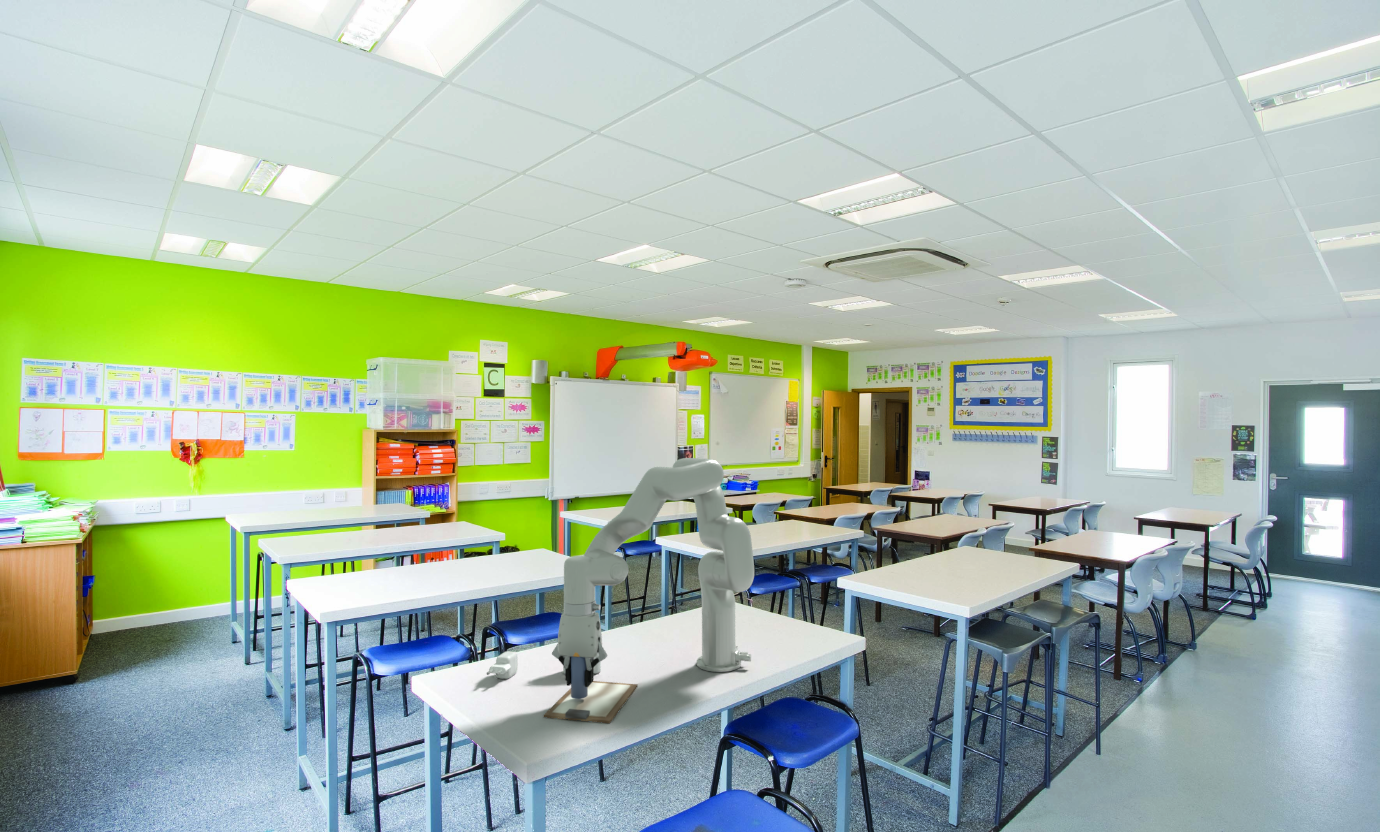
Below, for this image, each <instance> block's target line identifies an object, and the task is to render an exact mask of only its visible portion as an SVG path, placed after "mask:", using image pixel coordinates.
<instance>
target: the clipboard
mask: <svg viewBox="0 0 1380 832" xmlns="http://www.w3.org/2000/svg"><path fill="white" fill-rule="evenodd" d="M637 688H638V683H625V682H624V683H623V682H614V681H613V682H611V681H600V680H599V681H597V680H593V682H592V683H591V684H590V685H589V686H588V696H587V697H585V698H581V699H574V698H572V697H571V687H570V688H569V689H568V691H566V692H565V693H564V694H563V695H562V697H560V698H559V699H558V700H556V702H555V703H554V704H553V705H551V707H550V708H549V709H548V710H546V712H545V713H544V714H543V718H544V717H547V719H555V718H557V719H558V720H566V719H568V720H569V721H577V720H581V721H580V722H588V721H592V722H591V723H601V722H602V723H603V724H611V722H612V721H613V720H614V719H615V717H616V716H617V715H618V713H619V712H620V711H619V710H621V709H622V708H623V707H624V705H626V703H627V701H628V700H629V699H630V698H631V696H632V695H633V694H634V692H635V691H636V690H637ZM628 698H629V699H628ZM625 702H626V703H625ZM622 706H623V707H622ZM618 711H619V712H618ZM602 723H601V724H602Z"/></svg>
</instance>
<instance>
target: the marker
mask: <svg viewBox="0 0 1380 832" xmlns="http://www.w3.org/2000/svg"><path fill="white" fill-rule="evenodd" d="M585 670H587V666H586V660H585V657H580V656H579V654H578V653H574V655H573V656H572V657H571V685H570V688H571V697H572V698H574V699H581V698H585V697H587V696H588V687H585Z"/></svg>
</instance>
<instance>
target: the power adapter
mask: <svg viewBox="0 0 1380 832" xmlns="http://www.w3.org/2000/svg"><path fill="white" fill-rule="evenodd" d="M518 659H519V658H518V652H516V651H508V650H507V651H504V652H503V653H500V655H498V656H497V657H496V659H495V663H494V664H493V665H491V666H490V667H489V669H488V671H487V672H486V675H487V676H489V675H490V674H495V677H496V678H497V679H502V680H508V679H510V678H512V677H513V676H514V675H516V674H517V672H518V664H519V663H518Z"/></svg>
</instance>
